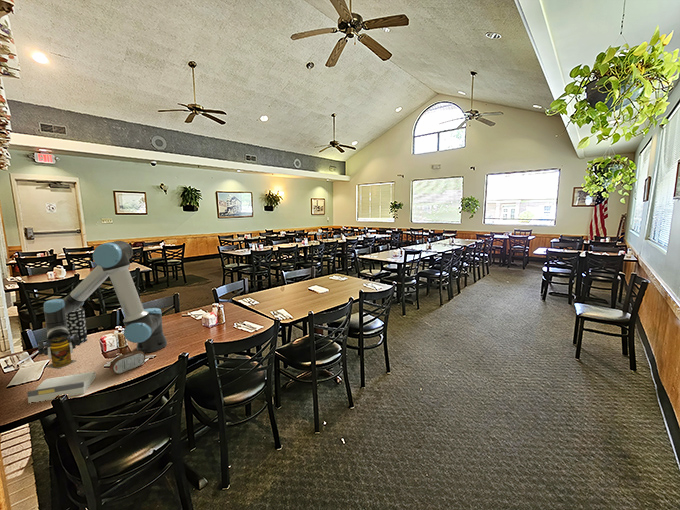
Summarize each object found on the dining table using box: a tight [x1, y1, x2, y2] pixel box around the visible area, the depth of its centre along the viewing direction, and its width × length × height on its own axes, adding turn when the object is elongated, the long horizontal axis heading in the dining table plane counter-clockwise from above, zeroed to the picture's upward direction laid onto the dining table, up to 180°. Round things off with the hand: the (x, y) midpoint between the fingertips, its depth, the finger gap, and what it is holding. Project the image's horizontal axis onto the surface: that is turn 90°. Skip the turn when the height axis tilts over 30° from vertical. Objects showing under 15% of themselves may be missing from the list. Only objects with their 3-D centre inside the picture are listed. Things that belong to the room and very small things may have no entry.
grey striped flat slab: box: [26, 370, 96, 404], centre depth 129 cm, size 18×14×5 cm
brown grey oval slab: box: [109, 350, 146, 375], centre depth 146 cm, size 15×3×8 cm, turn 148°
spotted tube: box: [66, 307, 88, 345], centre depth 175 cm, size 8×8×20 cm
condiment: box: [44, 337, 77, 370], centre depth 127 cm, size 7×8×12 cm
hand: (60, 352), depth 124 cm, fingers closed on condiment, 6 cm apart
